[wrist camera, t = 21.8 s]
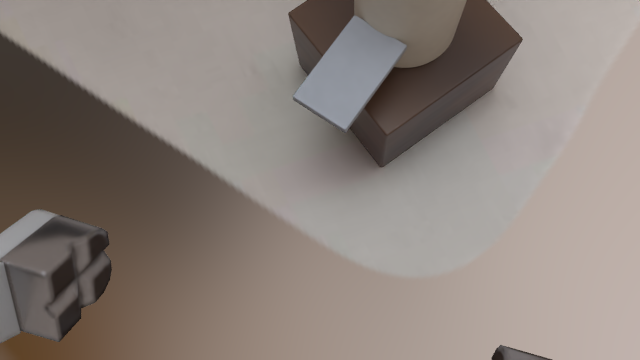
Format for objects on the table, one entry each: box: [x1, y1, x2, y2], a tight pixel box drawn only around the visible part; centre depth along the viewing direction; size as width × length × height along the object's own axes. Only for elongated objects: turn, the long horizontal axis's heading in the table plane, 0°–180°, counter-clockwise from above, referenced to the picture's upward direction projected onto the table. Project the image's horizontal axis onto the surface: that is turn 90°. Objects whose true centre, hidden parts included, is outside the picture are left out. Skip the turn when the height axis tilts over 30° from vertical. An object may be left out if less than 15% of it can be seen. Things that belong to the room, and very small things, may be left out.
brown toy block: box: [288, 0, 523, 167], centre depth 20 cm, size 6×6×4 cm
